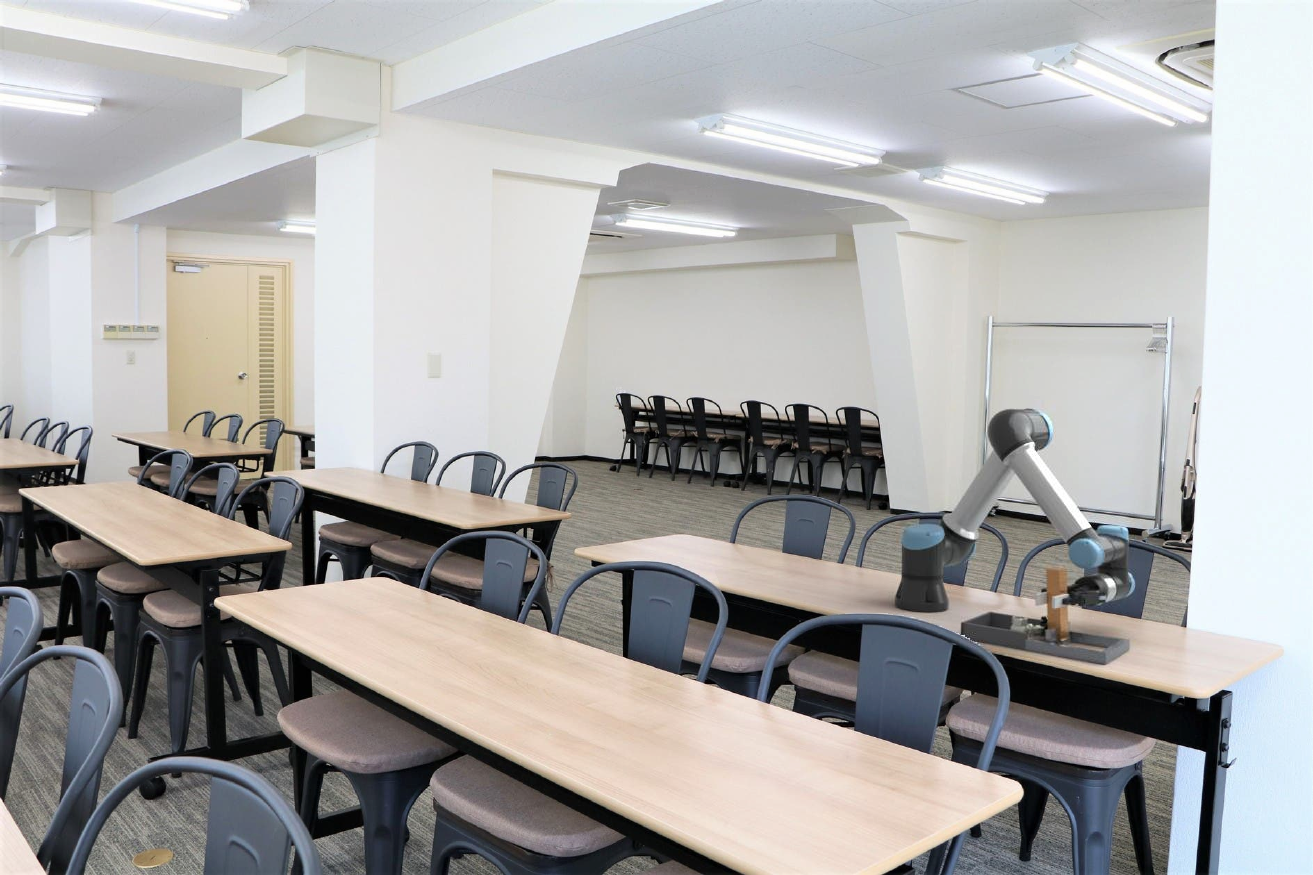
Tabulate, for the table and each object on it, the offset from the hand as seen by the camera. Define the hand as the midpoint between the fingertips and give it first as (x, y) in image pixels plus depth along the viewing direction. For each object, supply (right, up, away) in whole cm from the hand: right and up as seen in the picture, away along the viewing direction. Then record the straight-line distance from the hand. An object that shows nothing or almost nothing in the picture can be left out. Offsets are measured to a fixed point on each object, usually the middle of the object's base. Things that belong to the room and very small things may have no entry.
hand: (1045, 601), depth 239 cm
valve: (0, -12, +7) cm, 14 cm away
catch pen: (-5, -11, +12) cm, 17 cm away
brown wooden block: (+5, -11, +3) cm, 12 cm away
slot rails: (+8, -12, +1) cm, 14 cm away
